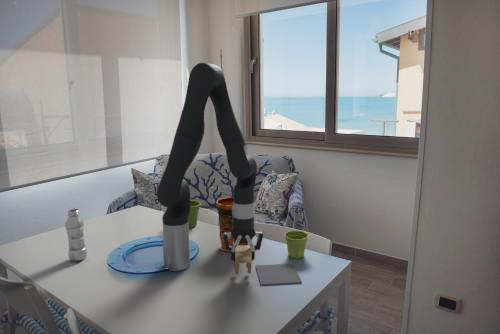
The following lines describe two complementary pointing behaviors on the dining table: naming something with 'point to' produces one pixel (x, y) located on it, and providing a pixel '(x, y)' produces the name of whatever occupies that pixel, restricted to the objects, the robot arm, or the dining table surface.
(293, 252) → the plant pot
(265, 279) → the mat
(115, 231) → the dining table surface
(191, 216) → the plant pot
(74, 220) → the plastic bottle
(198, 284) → the dining table surface
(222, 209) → the vessel
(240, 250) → the notched wooden block
